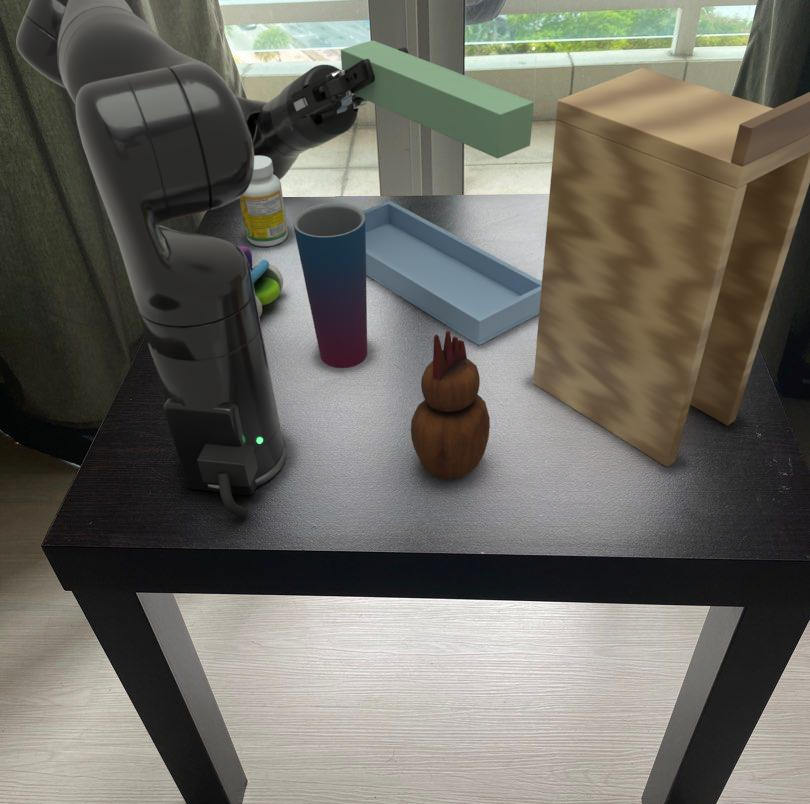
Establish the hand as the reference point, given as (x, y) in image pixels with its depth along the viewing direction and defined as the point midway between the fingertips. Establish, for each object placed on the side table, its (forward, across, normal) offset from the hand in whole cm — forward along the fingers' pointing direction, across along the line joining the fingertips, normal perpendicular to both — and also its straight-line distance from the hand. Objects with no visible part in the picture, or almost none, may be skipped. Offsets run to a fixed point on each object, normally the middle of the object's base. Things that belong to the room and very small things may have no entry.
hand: (388, 63), depth 88 cm
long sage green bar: (+4, 0, +6) cm, 7 cm away
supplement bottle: (-25, -8, +12) cm, 29 cm away
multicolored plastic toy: (-15, -19, +17) cm, 30 cm away
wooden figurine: (+17, -20, +35) cm, 44 cm away
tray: (-5, 0, +22) cm, 23 cm away
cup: (-1, -17, +25) cm, 30 cm away
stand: (+22, -1, +37) cm, 43 cm away
